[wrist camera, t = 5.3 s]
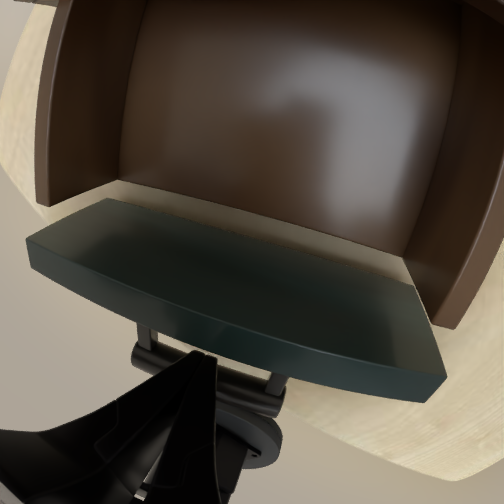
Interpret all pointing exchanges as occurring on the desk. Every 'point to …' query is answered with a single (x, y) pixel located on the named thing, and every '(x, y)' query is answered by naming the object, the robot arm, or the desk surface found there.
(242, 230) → the desk surface
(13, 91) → the desk surface
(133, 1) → the drawer
